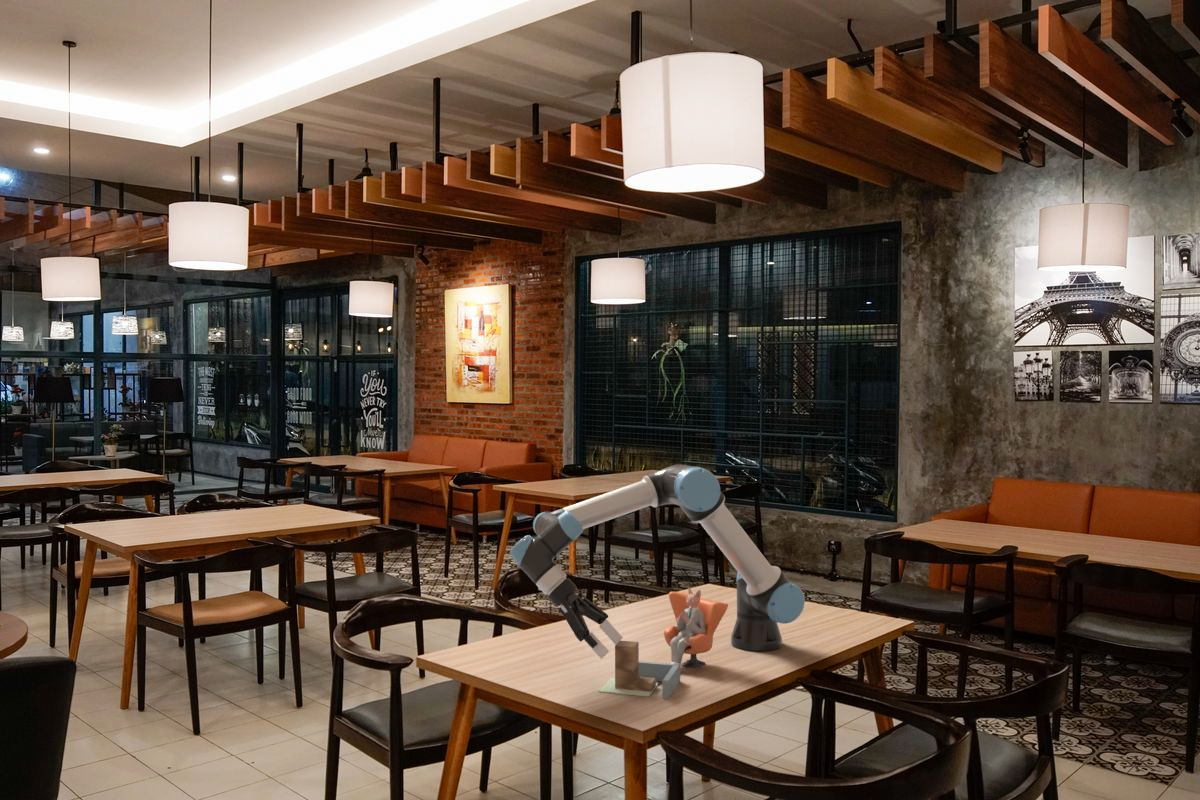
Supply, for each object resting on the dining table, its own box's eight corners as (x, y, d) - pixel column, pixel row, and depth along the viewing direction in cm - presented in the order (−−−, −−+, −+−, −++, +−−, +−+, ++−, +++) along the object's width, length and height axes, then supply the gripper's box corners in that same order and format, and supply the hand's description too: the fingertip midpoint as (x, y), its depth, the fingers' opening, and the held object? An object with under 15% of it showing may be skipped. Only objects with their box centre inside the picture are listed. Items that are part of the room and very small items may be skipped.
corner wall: (680, 681, 242) (680, 664, 242) (668, 698, 229) (668, 680, 229) (624, 676, 247) (624, 659, 247) (610, 693, 233) (610, 675, 233)
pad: (658, 683, 241) (658, 682, 241) (649, 696, 230) (649, 695, 230) (610, 679, 244) (610, 678, 244) (599, 692, 234) (599, 690, 234)
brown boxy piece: (655, 685, 238) (655, 643, 238) (651, 691, 233) (651, 648, 233) (619, 682, 241) (619, 640, 240) (615, 688, 236) (615, 645, 236)
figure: (635, 664, 258) (635, 588, 258) (681, 652, 270) (681, 579, 270) (691, 682, 241) (691, 601, 241) (738, 669, 253) (737, 592, 253)
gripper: (562, 586, 255) (615, 644, 251) (531, 606, 231) (588, 671, 227) (580, 568, 253) (634, 626, 249) (551, 586, 229) (609, 651, 225)
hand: (612, 648), depth 238 cm, fingers open, 13 cm apart
